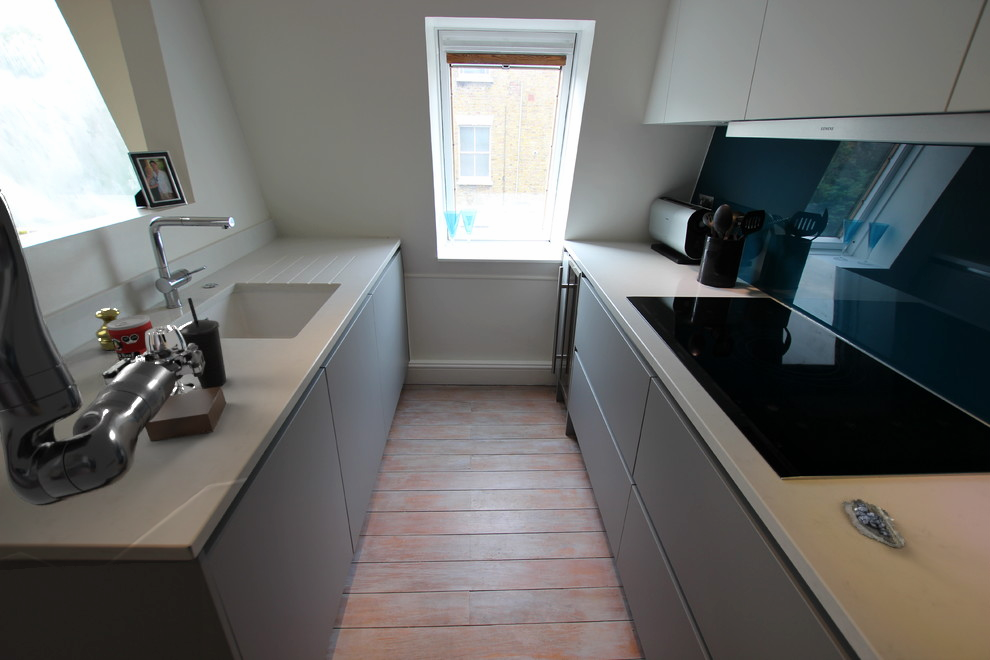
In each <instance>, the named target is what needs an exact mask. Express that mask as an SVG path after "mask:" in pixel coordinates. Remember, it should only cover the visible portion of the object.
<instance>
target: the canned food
mask: <svg viewBox="0 0 990 660" xmlns="http://www.w3.org/2000/svg"><path fill="white" fill-rule="evenodd" d="M152 328H154V327H153V324H152V321H151V319H150V316H149V315H144V314H136V315H129V316H123V317H120V318H117V319H116V320H114V321H111V322H110V323H108V324H107V330H108V332H109V335H110V338H111V340H112V343H113V345H114V348H115V350H114V351H115V354H116V357H117V358H118V361H119V362H120V361H121V360H123V359H125V358H130V360H134V359H135V357H137V356H140V355H142V354H143V353H144V352H145V351H147V350H146V344H145V332H146V331H148V330H150V329H152Z"/></svg>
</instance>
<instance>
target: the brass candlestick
mask: <svg viewBox="0 0 990 660" xmlns="http://www.w3.org/2000/svg"><path fill="white" fill-rule="evenodd" d="M120 314H121V310H120V309H118V308H117V309H116V308H111V307H105V308H102V309H101V310H99V311H97V312H96V313H95V314H94V317H95V318H96V319H99V320H101V321H102V322H103V323H102V325H101V326H100V327H99V328H98V329H97V330H96V331H95V336H96V338H98V344H99V345H100V349H101V350H105V351H113V350H114V351H115V348H114V345H113V343H112V340H111V338H110V335H109V332H108V330H107V324H108V323H110V322H111V321H114V320H116V319H118V316H119V315H120Z"/></svg>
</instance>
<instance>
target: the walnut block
mask: <svg viewBox="0 0 990 660" xmlns="http://www.w3.org/2000/svg"><path fill="white" fill-rule="evenodd" d="M226 405H227V401H226V398H225V394H224V390H223V387H222V386H220V387H214V388H206V389H204V388H200V389H192V390H191V391H189V392H187V393H184V394H181V395H175V396H171V395H170V396H169V397H168V399H167V400H166V402H165V403H164V404H163V406H162V407H161V409H160V410H159V411H158V413H157V414H156V415H155V416H154V418H153V419H152V420H150V421H149V422H148V423H147V425H146V426H145V428H144V429H145V430H146V433H147V436H148V439H149V441H150V442H154V441H161V440H162V441H163V440H168V439H174V438H181V437H186V436H193V435H199V434H207V433H213V432H214V430H215V429H216V426H217V424H218V422H219V421H220V417H221V415H222V413H223V411H224V409H225V407H226Z"/></svg>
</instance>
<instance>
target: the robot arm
mask: <svg viewBox="0 0 990 660" xmlns="http://www.w3.org/2000/svg"><path fill="white" fill-rule="evenodd" d="M2 190H3V189H1V187H0V440H1V447H2V451H3V457H4V463H5V471H6V477H7V481H8V484H9V486H10V489H11V490H12V491H13V493H14V494H15V495H16V496H17V497H18V498H19V499H21V500H22V501H24V502H26V503H28V504H30V505H33V506H38V507H46V506H51V505H55V504H59V503H62V502H65V501H68V500H71V499H74V498H78V497H81V496H84V495H87V494H91V493H94V492H98V491H100V490H103V489H106V488H109V487H111V486H113V485H115V484H117V483H118V482H120V481H121V480H122V479H123V478H124V477H125V476H127V475H128V473H129V472H130V471H131V469H132V467H133V466H134V462H135V456H136V451H137V445H138V441H139V436H140V434H141V433H142V432H143V431H144V429H146V428H145V426H146V425H147V423H148V422H149V421H150V420H152V419H153V418H154V416H155V415H156V414H157V413H158V411H159V410H160V409H161V407H162V406H163V404H164V403H165V402H166V400H167V399H168V397H169V396H170V395H171V393H172V392H173V389H174V386H175V385H176V384H177V382H176V381H177V380H179V381H180V380H181V379H182V378H183V377H184V376H186V375H193V377H194V378H198V377H199V376H201V375H202V373H203V369H204V365H205V361H204V357H203V354H202V351H201V350H199V349H198V346H197V345H195V343H190V344H189V345H188V346H187V347H186V349H185V350H184V352H182V353H180V354H173V355H171V356H169V357H168V358H166V359H164V360H159V361H157V362H154V361H153V360H152V359H151V358H150V357H149V355H148V353H147V351H145V352H144V353H143V354H142V355H140V356H137V357H135V359H134V360H130V358H125V359H123V360H121V361H119V362H117V363H115V364H114V365H113V366H110V368H108V369H106V371H104V372H102V377H103V381H104V383H105V386H104V387H103V388H102V389H101V390H100V391H99V392H98V394H97V396H96V398H95V399H94V400H93V401H92V402H91V403H90V404H89V405H88V406H86V407H85V409H84V410H83V411H82V412H80V414H79V415H78V417H77V418H76V420H75V421H74V424H73V426H72V436H70V437H69V436H68V437H66V438H63V439H62V438H61V439H59V440H57V438H56V433H55V428H56V427H55V426H56V424H57V423H59V422H61V421H63V420H65V419H67V418H69V417H71V416H73V415H74V414H75V413H77V412H78V411H80V409H81V408H82V406H83V405H84V399H83V395H82V393H81V390H80V389H79V386H78V384H77V383H76V381H75V379H74V377H73V375H72V374H71V371H70V369H69V367H68V366H67V364H66V363H65V360H64V358H63V356H62V355H61V353H60V351H59V349H58V348H57V345H56V344H55V343H56V342H55V341H54V339H53V337H52V334H51V332H50V330H49V328H48V325H47V323H46V320H45V317H44V315H43V312H42V309H41V305H40V301H39V299H38V295H37V291H36V289H35V285H34V280H33V277H32V273H31V271H30V267H29V264H28V261H27V258H26V254H25V251H24V248H23V246H22V242H21V239H20V236H19V232H18V230H17V226H16V224H15V221H14V216H13V215H12V212H11V208H10V206H9V203H8V201H7V198H6V196H5V195H4V192H3V191H2ZM173 361H174V362H173Z"/></svg>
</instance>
